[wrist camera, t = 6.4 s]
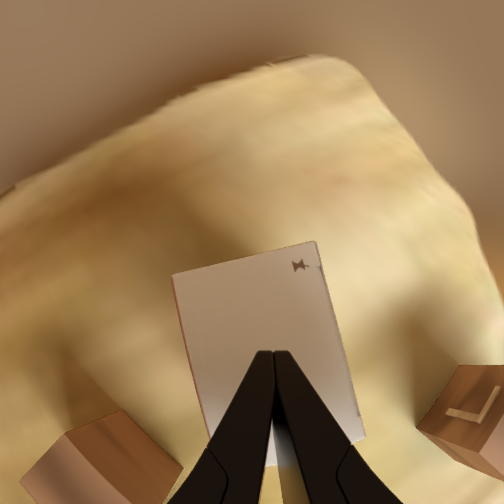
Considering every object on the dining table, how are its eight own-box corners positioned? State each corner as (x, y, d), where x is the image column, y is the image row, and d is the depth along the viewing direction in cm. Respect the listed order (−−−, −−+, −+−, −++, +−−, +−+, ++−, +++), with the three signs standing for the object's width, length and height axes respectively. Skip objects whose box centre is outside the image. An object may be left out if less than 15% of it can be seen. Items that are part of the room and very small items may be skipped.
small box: (206, 305, 21) (166, 267, 11) (286, 286, 22) (316, 233, 12) (234, 418, 19) (217, 479, 9) (315, 398, 19) (369, 440, 9)
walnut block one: (135, 506, 17) (92, 556, 9) (77, 449, 18) (16, 478, 10) (183, 467, 18) (151, 520, 10) (120, 407, 19) (61, 430, 11)
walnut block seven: (455, 460, 17) (514, 485, 10) (414, 426, 18) (477, 452, 11) (493, 401, 19) (558, 407, 11) (458, 363, 20) (527, 362, 12)
